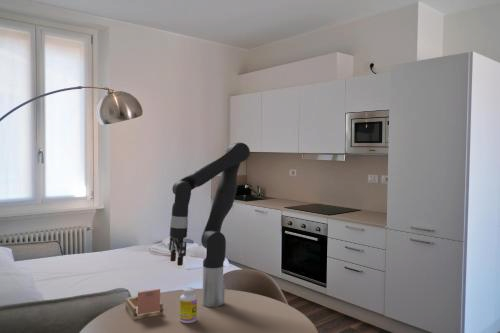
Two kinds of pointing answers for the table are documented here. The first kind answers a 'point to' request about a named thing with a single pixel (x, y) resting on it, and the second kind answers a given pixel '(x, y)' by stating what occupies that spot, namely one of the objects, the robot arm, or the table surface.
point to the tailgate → (148, 301)
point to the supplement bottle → (188, 305)
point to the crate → (133, 309)
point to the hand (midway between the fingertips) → (176, 263)
